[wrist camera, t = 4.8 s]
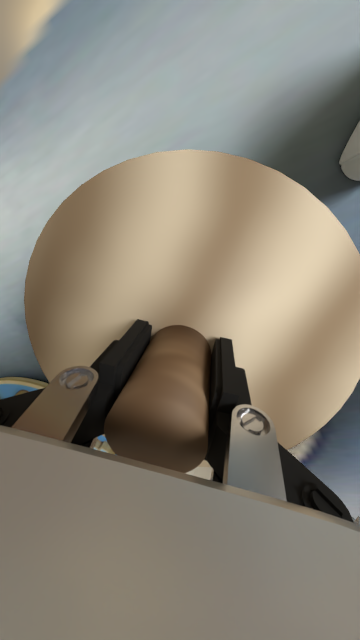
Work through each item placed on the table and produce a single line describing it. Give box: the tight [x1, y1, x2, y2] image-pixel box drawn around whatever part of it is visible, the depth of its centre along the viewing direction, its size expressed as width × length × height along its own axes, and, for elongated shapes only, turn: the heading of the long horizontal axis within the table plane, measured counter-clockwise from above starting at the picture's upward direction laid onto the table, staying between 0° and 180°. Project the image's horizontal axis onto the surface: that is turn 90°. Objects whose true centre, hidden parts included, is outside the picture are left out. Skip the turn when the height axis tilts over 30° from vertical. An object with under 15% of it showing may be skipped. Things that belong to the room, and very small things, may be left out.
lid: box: [24, 150, 360, 473], centre depth 9 cm, size 17×17×6 cm
